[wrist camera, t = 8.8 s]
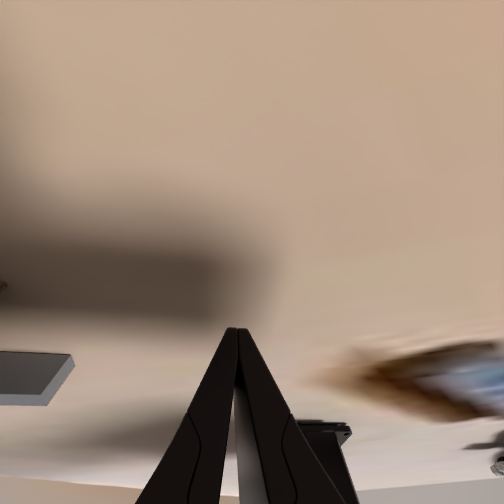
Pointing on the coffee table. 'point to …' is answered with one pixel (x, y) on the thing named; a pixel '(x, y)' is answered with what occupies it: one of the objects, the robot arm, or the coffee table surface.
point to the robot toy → (498, 467)
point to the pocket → (32, 377)
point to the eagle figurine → (2, 286)
